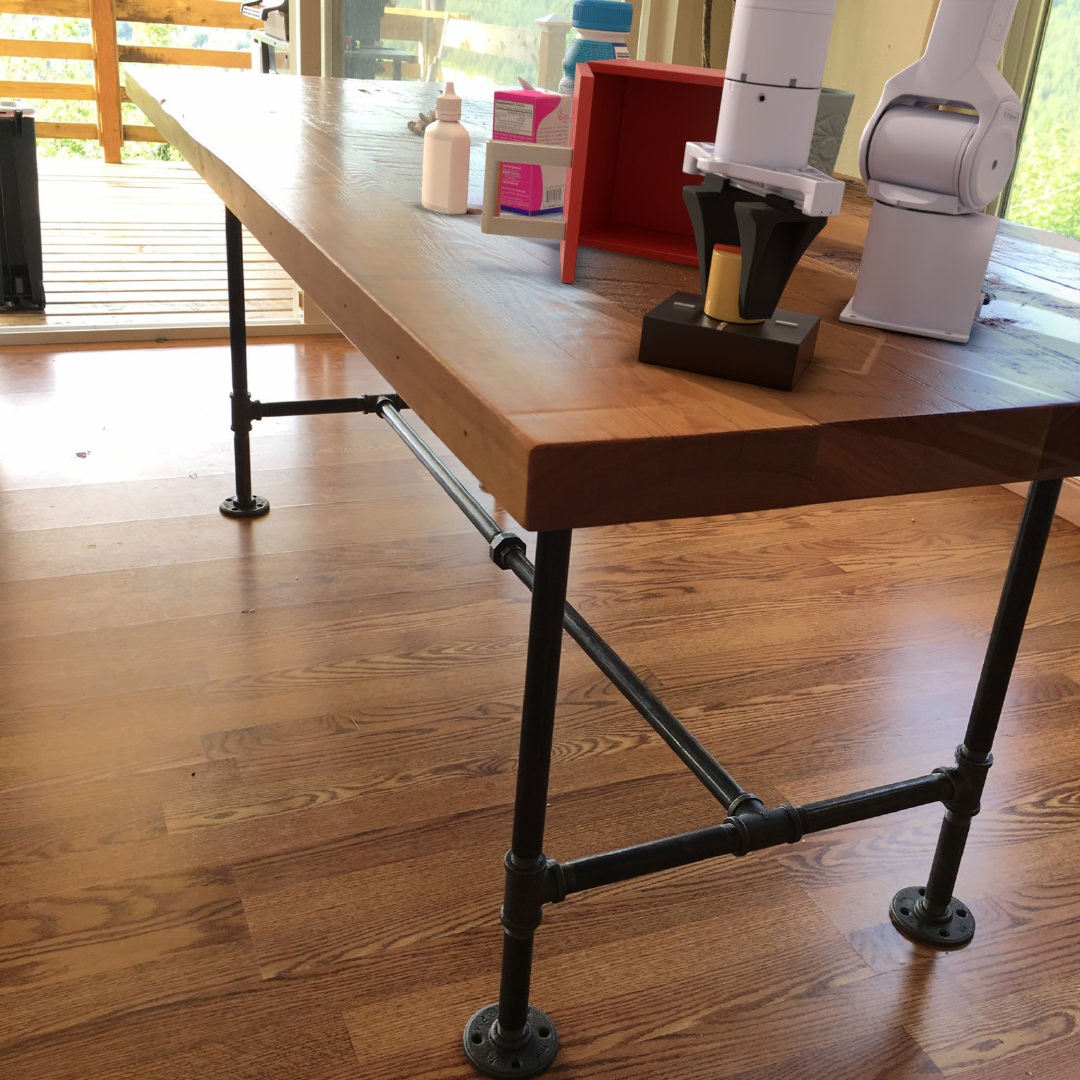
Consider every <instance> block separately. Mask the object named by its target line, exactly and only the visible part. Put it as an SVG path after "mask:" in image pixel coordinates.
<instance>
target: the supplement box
mask: <svg viewBox="0 0 1080 1080" xmlns="http://www.w3.org/2000/svg"><path fill="white" fill-rule="evenodd" d="M535 90H536V89H535ZM535 90H523V89H521V90H520V89H515V90H513V89H511V90H495V91H493V106H492V107H493V108H492V109H493V110H492V111H493V112H492V135H491V137H492V138H491V140H503V141H514V142H525V143H536V144H548V145H559V146H568V140H569V124H570V110H571V95H567V94H559V92H558V93H556V92H549V91H548V92H544V91H541V90H536V91H535ZM566 169H567V167H557V166H546V165H535V164H523V163H512V162H503V175H502V190H501V205H500V210H502V211H506V212H511V213H514V214H519V215H521V216H527V217H537V216H543V215H550V214H555V213H556V214H557V213H563V204H564V193H565V182H566Z"/></svg>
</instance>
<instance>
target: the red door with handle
mask: <svg viewBox="0 0 1080 1080" xmlns="http://www.w3.org/2000/svg"><path fill="white" fill-rule="evenodd" d="M593 85H594V76H593V74H592V72H591V70H590V68H589V65H588V64H585V63H576V72H575V83H574V94H573V105H572V116H571V127H570V138H569V146H559V145H548V144H536V143H525V142H514V141H503V140H492V139H487V140H486V143H485V158H484V159H485V160H484V164H485V165H484V174H483V175H484V177H483V180H484V181H483V191H482V192H483V195H482V209H481V225H480V226H481V227H480V232H481V233H482V234H486V235H493V236H503V237H504V236H506V237H515V238H525V239H538V240H539V239H540V240H548V241H549V240H550V241H559V259H560V278H561V279H560V280H561V281H560V282H561V284H571V285H573V284H575V278H576V277H575V276H576V266H577V258H578V257H577V256H578V247H579V246H578V238H579V227H580V217H581V207H582V197H583V187H584V177H585V166H586V156H587V146H588V136H589V126H590V116H591V105H592V95H593ZM503 162H512V163H523V164H535V165H546V166H557V167H567V171H566V182H565V193H564V204H563V212H562V216H561V219H559V218H548V217H537V216H526V215H515V214H514V215H513V214H503V213H501V209H500V205H501V190H502V175H503Z"/></svg>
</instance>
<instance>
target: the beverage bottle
mask: <svg viewBox="0 0 1080 1080" xmlns="http://www.w3.org/2000/svg"><path fill="white" fill-rule="evenodd" d="M572 7H573V8H572V20H571V21H572V23H571V26H572V30H573V31H577V33H576V35H575V37H574V38H573V39H572V41H571V42H570V44H569V45H568V47H567V49H566V50H565V52H564V55H563V57H562V61H561V67H562V69H563V76H562V78H561V79H560V81H559V83H558V94H567V95H571V110H570V124H569V138H570V127H571V116H572V105H573V94H574V83H575V72H576V63H585V64H586V61H595V60H609V59H632V60H633V58H632V55H631V52H630V49H629V47H628V44H627V42H626V41H625V36H630V33H631V31H632V24H633V16H634V5H633V3H631V2H625V1H616V0H574V2H573V6H572ZM568 146H569V140H568ZM566 171H567V169H566Z"/></svg>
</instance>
